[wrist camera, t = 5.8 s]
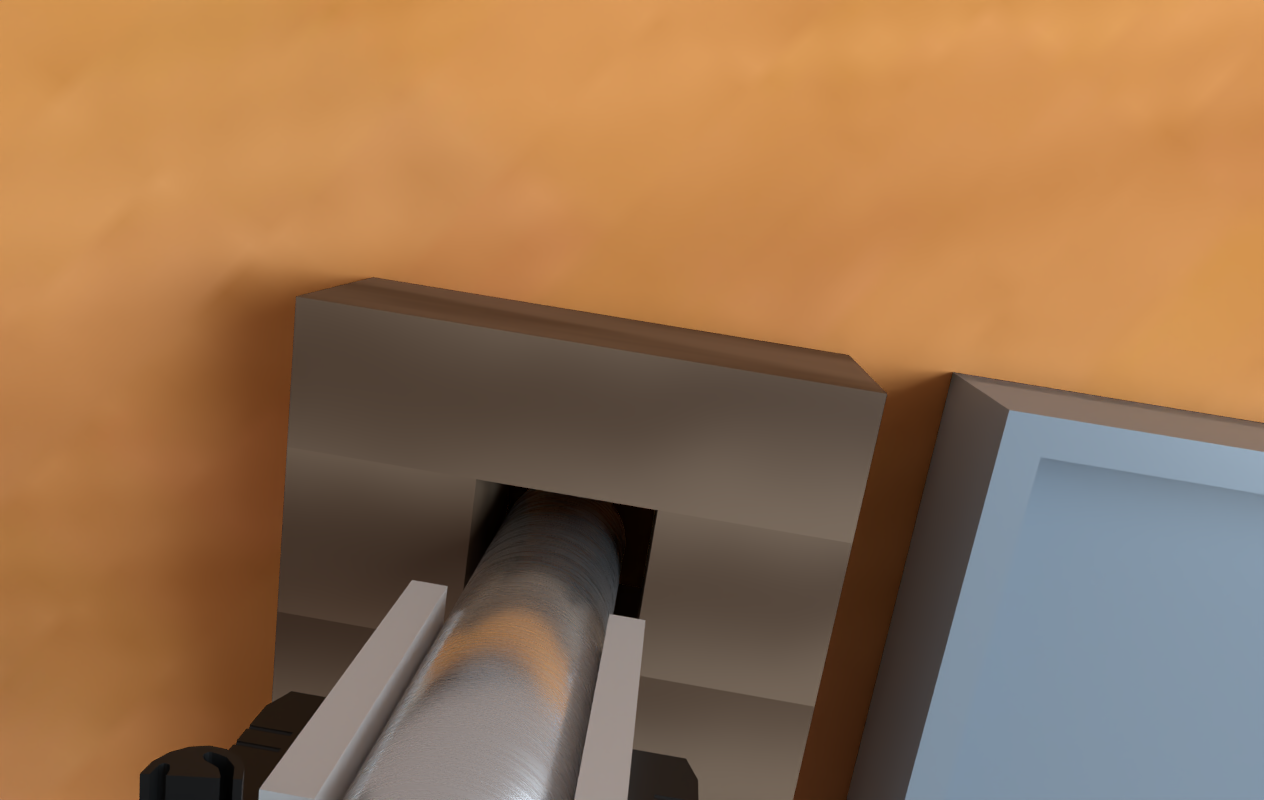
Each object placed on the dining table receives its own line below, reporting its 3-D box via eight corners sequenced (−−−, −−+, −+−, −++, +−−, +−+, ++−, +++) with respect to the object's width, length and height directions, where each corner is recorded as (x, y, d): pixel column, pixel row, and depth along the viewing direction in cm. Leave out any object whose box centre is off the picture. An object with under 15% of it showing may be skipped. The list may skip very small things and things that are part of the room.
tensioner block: (714, 968, 30) (722, 1240, 22) (323, 895, 30) (195, 1136, 22) (848, 355, 25) (920, 427, 17) (373, 277, 25) (229, 312, 17)
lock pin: (616, 604, 25) (527, 1098, 11) (496, 584, 25) (263, 1050, 11) (634, 491, 24) (564, 873, 10) (511, 470, 24) (278, 822, 10)
